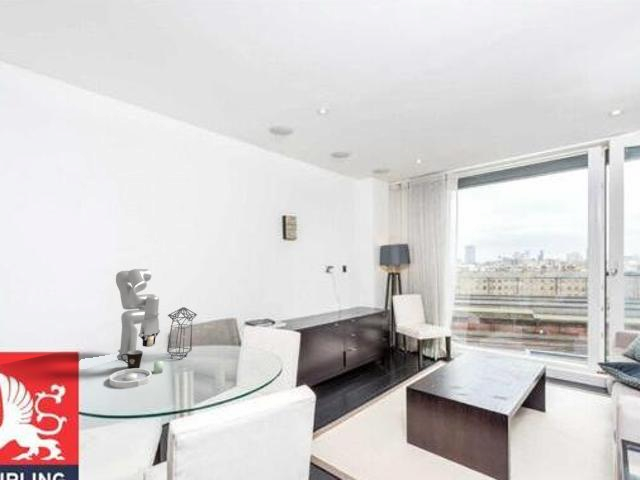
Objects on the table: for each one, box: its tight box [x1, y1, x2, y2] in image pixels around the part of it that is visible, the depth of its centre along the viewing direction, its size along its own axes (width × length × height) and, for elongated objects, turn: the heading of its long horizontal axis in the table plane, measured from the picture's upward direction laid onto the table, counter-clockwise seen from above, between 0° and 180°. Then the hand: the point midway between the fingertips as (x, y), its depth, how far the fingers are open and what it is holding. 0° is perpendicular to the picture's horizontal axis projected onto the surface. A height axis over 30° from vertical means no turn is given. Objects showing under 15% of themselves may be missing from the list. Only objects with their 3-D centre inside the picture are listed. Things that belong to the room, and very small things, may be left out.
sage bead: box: [153, 360, 164, 375], centre depth 210 cm, size 5×5×6 cm
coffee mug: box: [121, 349, 144, 369], centre depth 214 cm, size 12×9×10 cm
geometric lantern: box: [166, 306, 198, 360], centre depth 240 cm, size 16×16×35 cm
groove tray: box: [108, 367, 153, 389], centre depth 195 cm, size 21×21×3 cm
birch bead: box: [145, 334, 154, 348], centre depth 213 cm, size 5×5×6 cm
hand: (148, 344), depth 213 cm, fingers closed on birch bead, 4 cm apart
